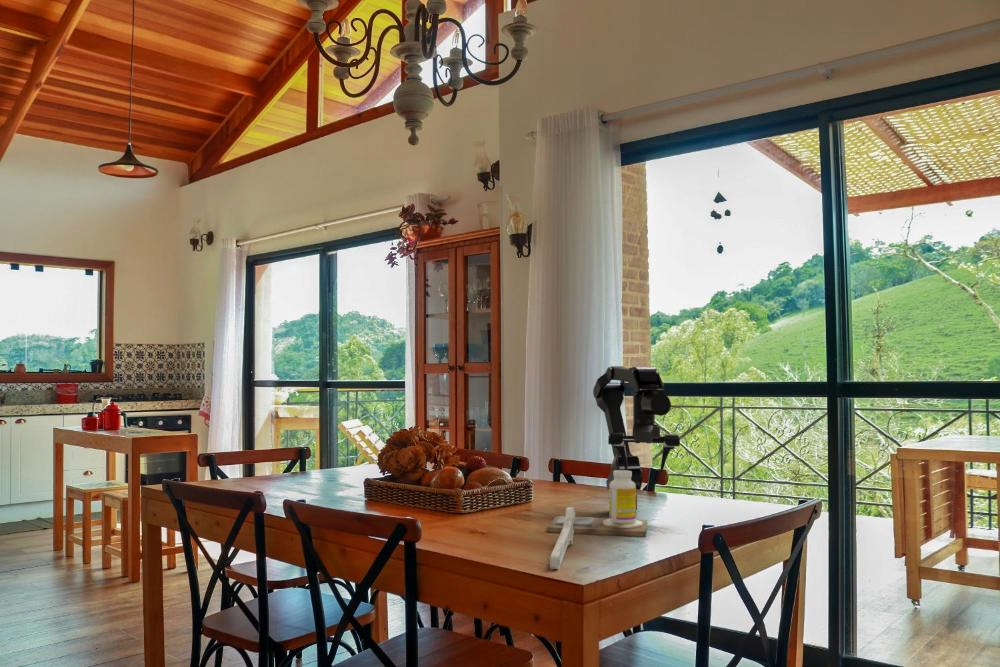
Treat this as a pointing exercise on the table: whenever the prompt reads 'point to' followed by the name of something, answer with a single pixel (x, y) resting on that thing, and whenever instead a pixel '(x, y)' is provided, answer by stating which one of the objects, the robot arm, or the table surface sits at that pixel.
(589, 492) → the table surface
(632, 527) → the coaster board
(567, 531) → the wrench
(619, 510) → the supplement bottle
